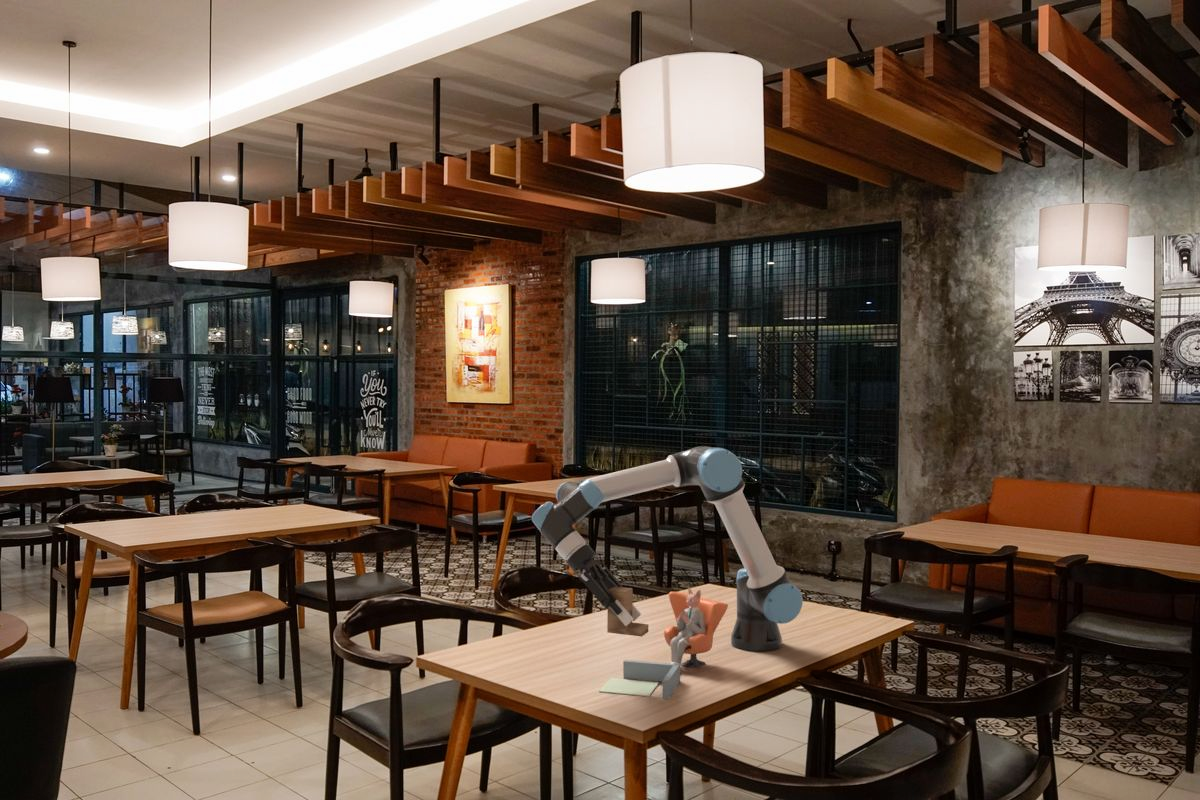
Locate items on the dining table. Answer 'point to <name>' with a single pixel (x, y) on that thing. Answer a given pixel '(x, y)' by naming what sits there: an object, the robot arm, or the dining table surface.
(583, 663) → the dining table surface
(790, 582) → the robot arm
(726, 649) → the dining table surface
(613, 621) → the brown boxy piece
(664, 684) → the corner wall
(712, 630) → the figure
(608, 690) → the pad
